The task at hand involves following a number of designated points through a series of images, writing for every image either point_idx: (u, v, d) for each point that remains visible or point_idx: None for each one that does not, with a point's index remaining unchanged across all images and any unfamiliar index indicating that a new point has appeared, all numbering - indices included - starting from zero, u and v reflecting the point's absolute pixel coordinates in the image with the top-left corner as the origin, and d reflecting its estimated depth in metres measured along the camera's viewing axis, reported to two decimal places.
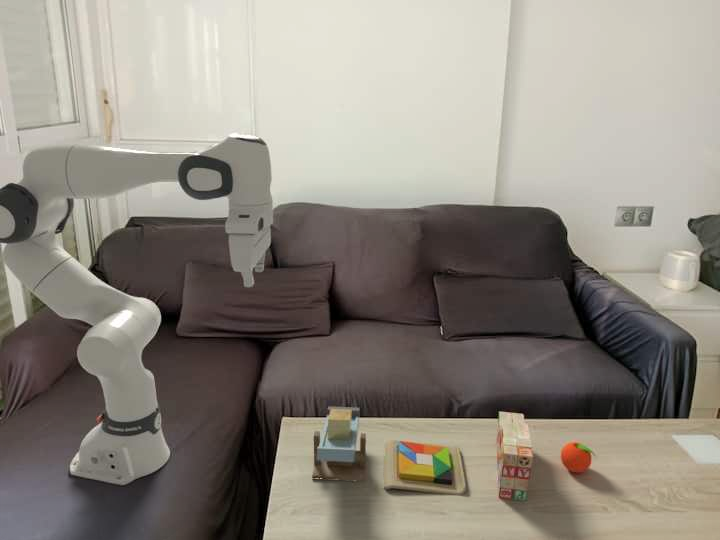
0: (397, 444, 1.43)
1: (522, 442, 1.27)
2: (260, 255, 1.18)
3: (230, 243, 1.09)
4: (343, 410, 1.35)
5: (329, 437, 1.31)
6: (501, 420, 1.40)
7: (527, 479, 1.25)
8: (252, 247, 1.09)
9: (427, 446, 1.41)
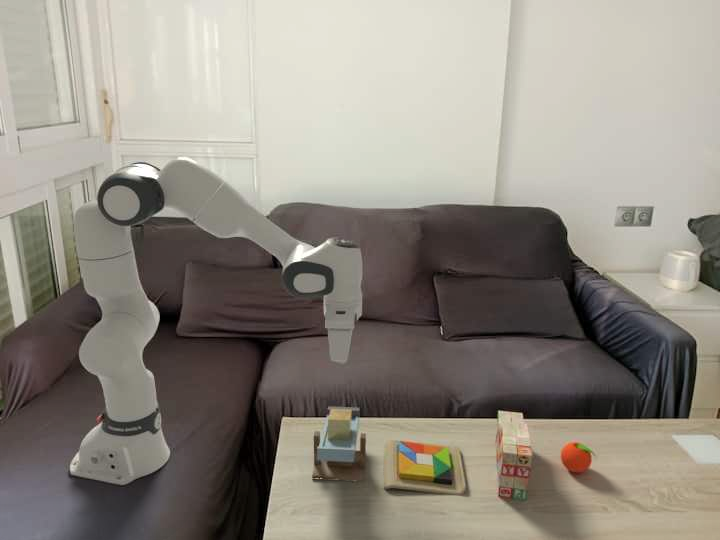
0: (397, 444, 1.43)
1: (522, 441, 1.27)
2: None
3: (330, 338, 1.23)
4: (343, 410, 1.35)
5: (329, 437, 1.31)
6: (500, 419, 1.41)
7: (526, 478, 1.25)
8: (349, 341, 1.24)
9: (427, 446, 1.41)
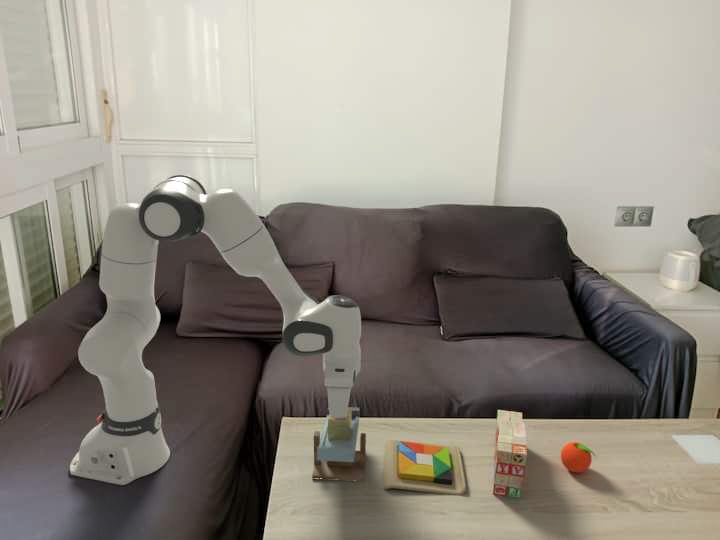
0: (397, 444, 1.43)
1: (517, 440, 1.28)
2: None
3: (329, 395, 1.26)
4: None
5: (329, 437, 1.31)
6: (499, 418, 1.41)
7: (521, 477, 1.25)
8: (348, 399, 1.26)
9: (427, 446, 1.41)
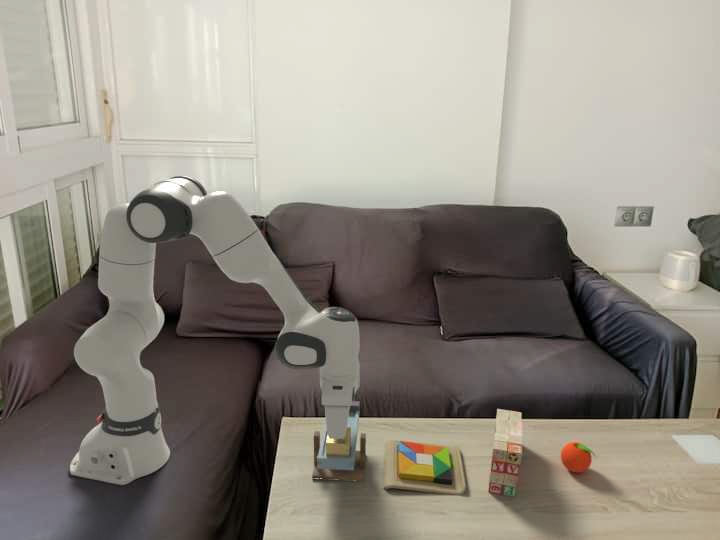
0: (397, 444, 1.43)
1: (513, 439, 1.28)
2: None
3: (327, 415, 1.18)
4: None
5: None
6: (498, 417, 1.42)
7: (516, 475, 1.26)
8: (347, 418, 1.18)
9: (427, 446, 1.41)
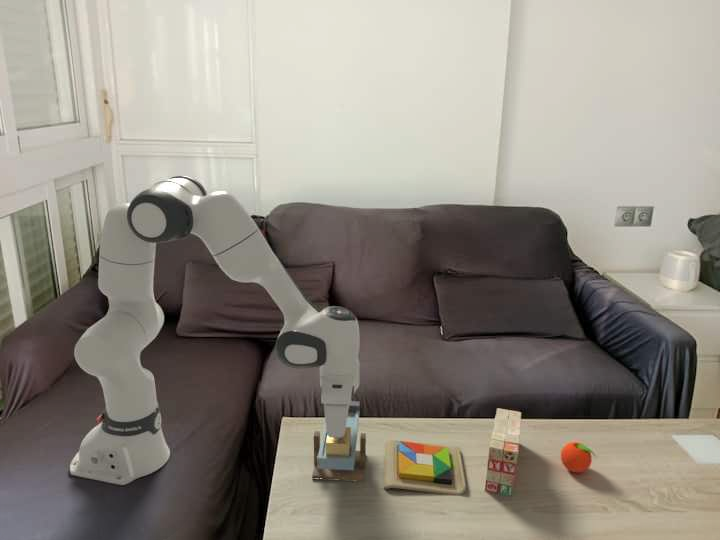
0: (397, 444, 1.43)
1: (510, 438, 1.28)
2: None
3: (326, 414, 1.19)
4: None
5: None
6: (497, 416, 1.42)
7: (512, 474, 1.26)
8: (346, 417, 1.19)
9: (427, 446, 1.41)
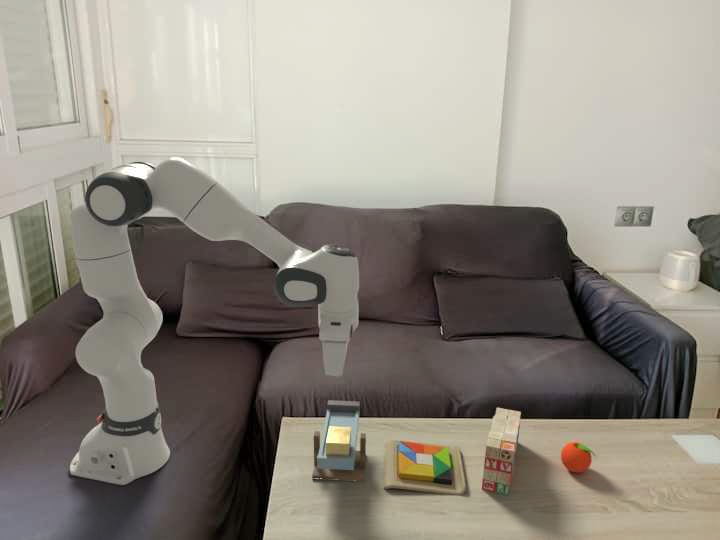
0: (397, 444, 1.43)
1: (508, 437, 1.29)
2: (345, 354, 1.26)
3: (324, 350, 1.17)
4: (342, 428, 1.28)
5: None
6: (496, 416, 1.42)
7: (509, 473, 1.26)
8: (344, 354, 1.17)
9: (427, 446, 1.41)
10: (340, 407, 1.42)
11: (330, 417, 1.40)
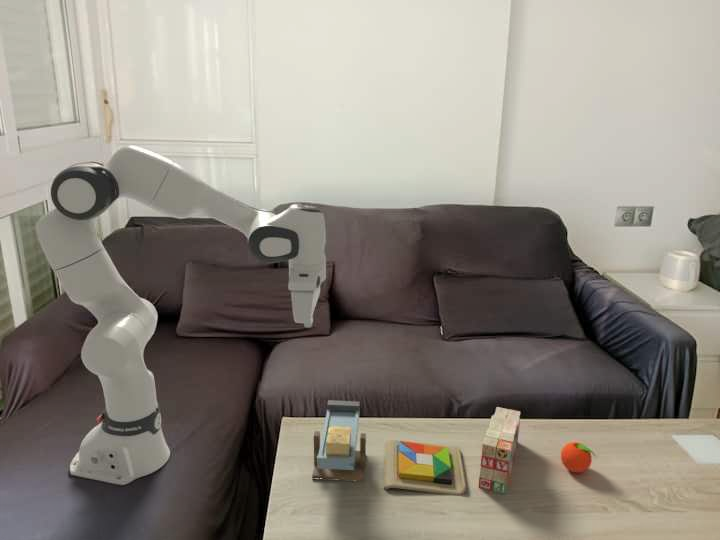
0: (397, 444, 1.43)
1: (505, 436, 1.29)
2: (314, 306, 1.37)
3: (293, 299, 1.27)
4: (342, 428, 1.28)
5: None
6: (495, 415, 1.43)
7: (505, 472, 1.27)
8: (311, 302, 1.28)
9: (427, 446, 1.41)
10: (340, 407, 1.42)
11: (330, 417, 1.40)
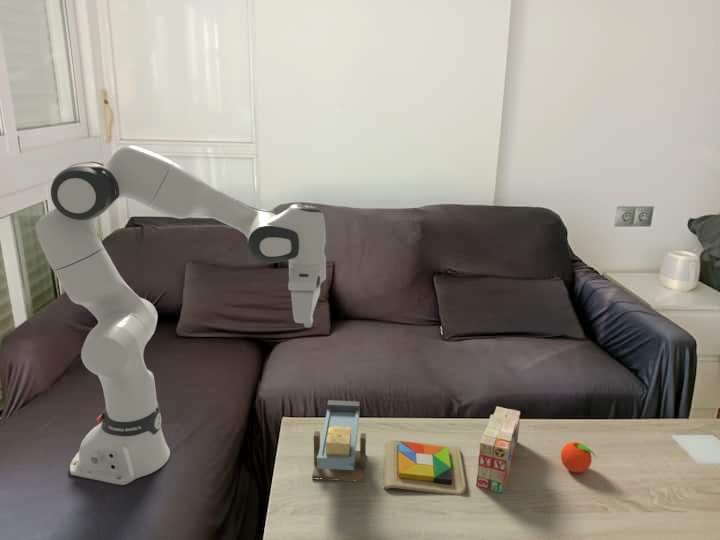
0: (397, 444, 1.43)
1: (503, 435, 1.29)
2: (314, 306, 1.37)
3: (293, 299, 1.27)
4: (342, 428, 1.28)
5: None
6: (495, 414, 1.43)
7: (503, 471, 1.27)
8: (311, 302, 1.28)
9: (427, 446, 1.41)
10: (340, 407, 1.42)
11: (330, 417, 1.40)
